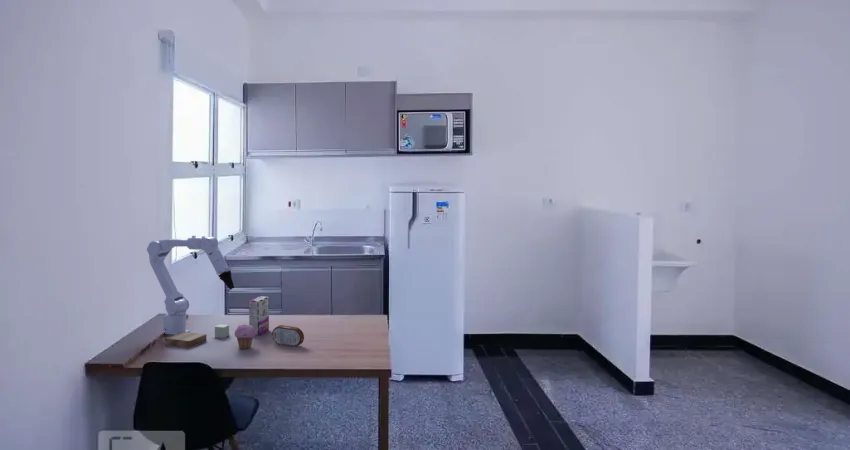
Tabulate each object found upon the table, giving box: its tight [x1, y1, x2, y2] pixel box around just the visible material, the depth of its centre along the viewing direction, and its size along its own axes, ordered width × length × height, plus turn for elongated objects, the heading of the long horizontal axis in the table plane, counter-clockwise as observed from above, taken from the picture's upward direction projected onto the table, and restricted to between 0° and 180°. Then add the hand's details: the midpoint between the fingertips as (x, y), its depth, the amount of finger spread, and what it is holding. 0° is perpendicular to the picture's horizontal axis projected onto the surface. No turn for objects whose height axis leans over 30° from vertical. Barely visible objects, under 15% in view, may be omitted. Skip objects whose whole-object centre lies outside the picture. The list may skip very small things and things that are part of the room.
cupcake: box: [234, 324, 256, 350], centre depth 264 cm, size 9×9×10 cm
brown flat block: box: [164, 331, 207, 349], centre depth 268 cm, size 12×12×3 cm
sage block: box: [214, 324, 230, 339], centre depth 280 cm, size 4×4×5 cm
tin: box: [271, 324, 305, 347], centre depth 270 cm, size 15×3×8 cm, turn 71°
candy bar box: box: [248, 295, 270, 337], centre depth 288 cm, size 11×5×16 cm, turn 168°
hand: (231, 287), depth 276 cm, fingers open, 7 cm apart
